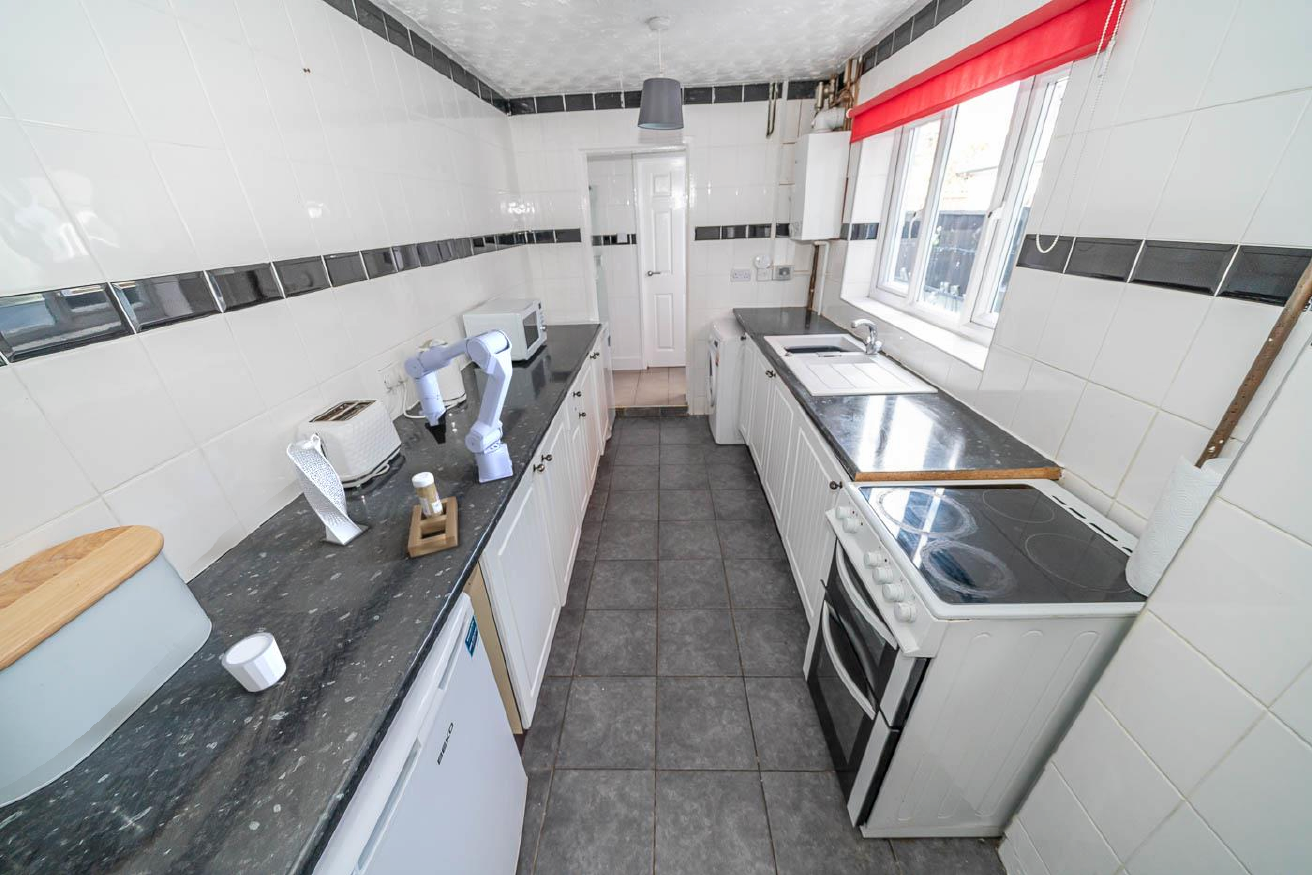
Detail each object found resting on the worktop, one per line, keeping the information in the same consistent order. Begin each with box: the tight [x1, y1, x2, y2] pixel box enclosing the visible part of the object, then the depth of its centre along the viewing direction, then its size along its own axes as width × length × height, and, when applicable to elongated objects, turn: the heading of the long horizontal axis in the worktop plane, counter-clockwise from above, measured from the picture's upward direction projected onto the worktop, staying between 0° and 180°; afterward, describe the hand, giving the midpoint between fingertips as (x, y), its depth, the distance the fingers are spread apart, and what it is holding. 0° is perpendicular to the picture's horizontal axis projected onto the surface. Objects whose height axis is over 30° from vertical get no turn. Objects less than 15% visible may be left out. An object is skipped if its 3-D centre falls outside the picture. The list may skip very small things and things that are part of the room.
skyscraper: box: [285, 433, 370, 546], centre depth 106 cm, size 8×8×28 cm
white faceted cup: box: [221, 632, 287, 693], centre depth 77 cm, size 7×7×7 cm
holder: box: [407, 495, 459, 558], centre depth 112 cm, size 10×18×3 cm, turn 21°
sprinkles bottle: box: [411, 471, 445, 520], centre depth 113 cm, size 5×5×14 cm
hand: (442, 437), depth 136 cm, fingers open, 7 cm apart
